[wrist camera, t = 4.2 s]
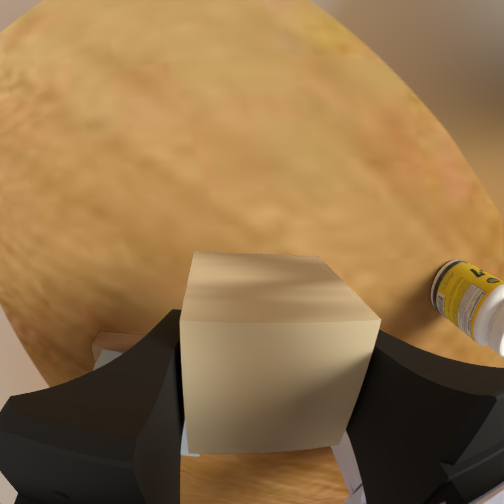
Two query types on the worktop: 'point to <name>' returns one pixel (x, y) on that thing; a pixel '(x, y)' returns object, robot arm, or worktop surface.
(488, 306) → the supplement bottle
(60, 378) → the worktop surface
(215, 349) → the oak block
